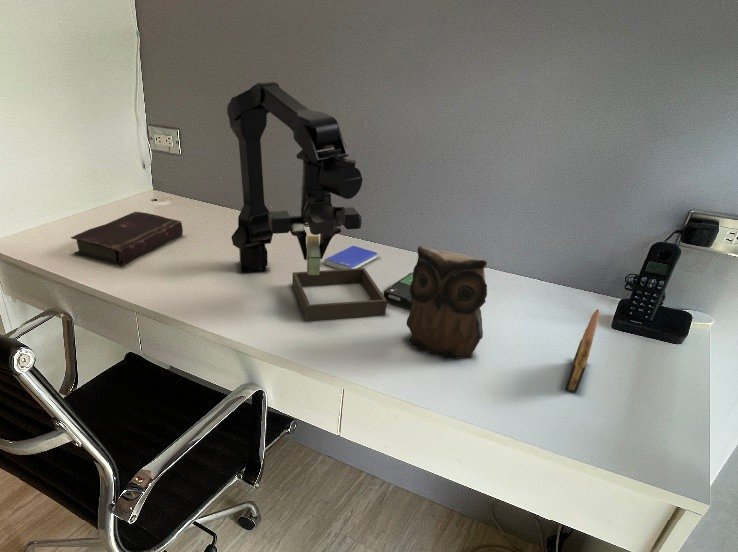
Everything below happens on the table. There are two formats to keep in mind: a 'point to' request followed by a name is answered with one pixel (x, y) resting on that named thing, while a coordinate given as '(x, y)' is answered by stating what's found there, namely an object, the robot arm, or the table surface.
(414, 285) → the owl
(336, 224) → the robot arm
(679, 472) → the table surface
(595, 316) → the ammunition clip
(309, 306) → the storage box
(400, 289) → the disk drive
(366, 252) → the hard drive
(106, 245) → the diary
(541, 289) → the table surface
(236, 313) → the table surface
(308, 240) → the medication box
